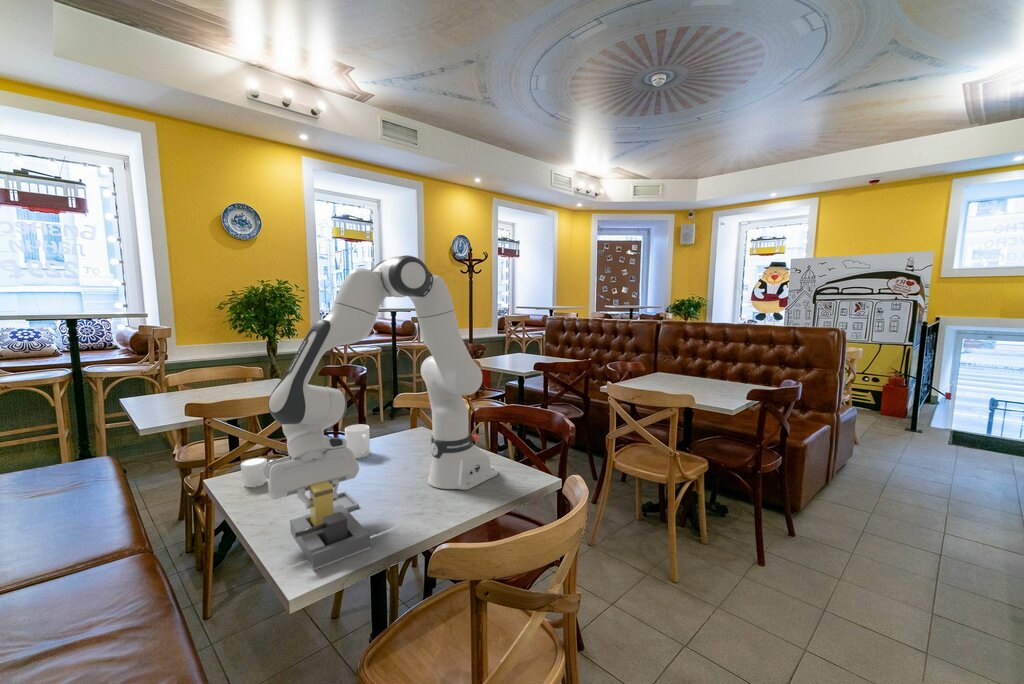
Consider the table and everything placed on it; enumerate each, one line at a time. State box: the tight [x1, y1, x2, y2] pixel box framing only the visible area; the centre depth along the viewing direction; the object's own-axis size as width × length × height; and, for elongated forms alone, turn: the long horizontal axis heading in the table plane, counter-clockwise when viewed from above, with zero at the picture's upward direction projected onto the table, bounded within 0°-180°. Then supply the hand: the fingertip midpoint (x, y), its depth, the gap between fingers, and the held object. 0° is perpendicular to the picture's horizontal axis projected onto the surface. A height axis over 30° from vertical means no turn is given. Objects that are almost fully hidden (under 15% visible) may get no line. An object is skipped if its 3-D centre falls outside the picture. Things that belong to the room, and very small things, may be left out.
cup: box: [344, 423, 371, 459], centre depth 150 cm, size 8×12×10 cm
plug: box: [308, 481, 334, 526], centre depth 99 cm, size 4×4×9 cm
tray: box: [333, 490, 360, 512], centre depth 112 cm, size 10×10×1 cm
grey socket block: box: [289, 505, 371, 571], centre depth 96 cm, size 14×18×8 cm
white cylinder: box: [240, 457, 268, 488], centre depth 127 cm, size 7×7×7 cm
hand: (322, 503), depth 99 cm, fingers closed on plug, 4 cm apart
